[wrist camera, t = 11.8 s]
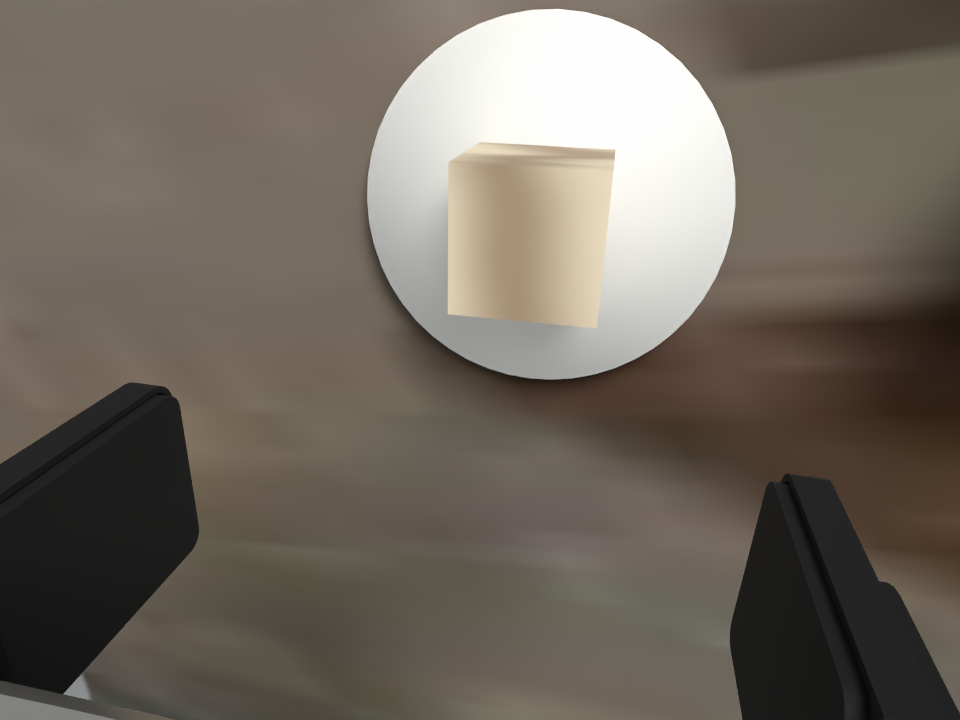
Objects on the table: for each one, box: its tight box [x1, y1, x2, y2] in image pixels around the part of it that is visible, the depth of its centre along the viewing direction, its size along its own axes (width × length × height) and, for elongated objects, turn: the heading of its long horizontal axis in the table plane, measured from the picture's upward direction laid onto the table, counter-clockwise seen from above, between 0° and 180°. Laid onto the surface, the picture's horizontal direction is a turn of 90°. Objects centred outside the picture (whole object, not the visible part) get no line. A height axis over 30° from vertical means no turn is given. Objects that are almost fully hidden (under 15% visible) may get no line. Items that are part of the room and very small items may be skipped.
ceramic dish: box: [367, 9, 735, 380], centre depth 26 cm, size 14×14×1 cm
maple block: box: [448, 142, 616, 328], centre depth 24 cm, size 5×5×5 cm
